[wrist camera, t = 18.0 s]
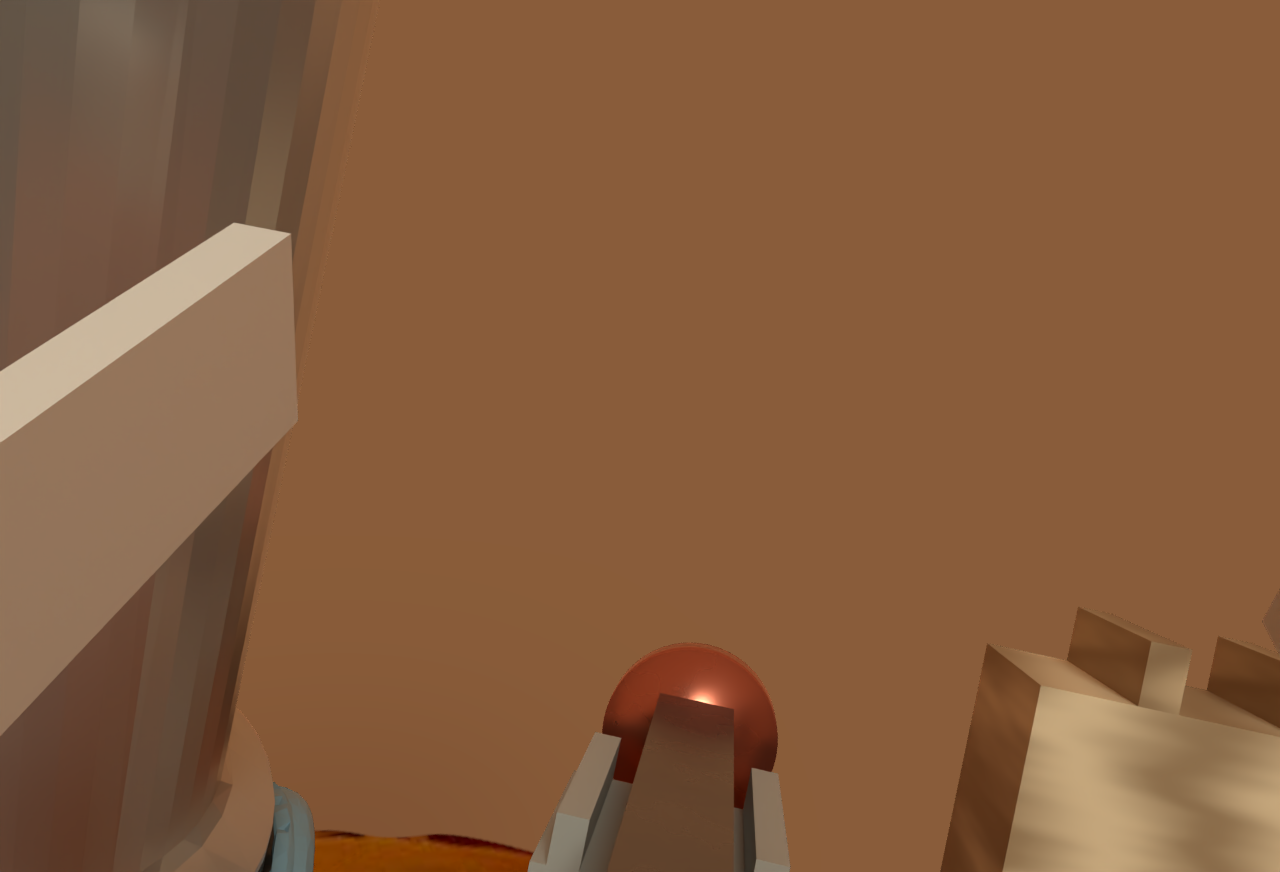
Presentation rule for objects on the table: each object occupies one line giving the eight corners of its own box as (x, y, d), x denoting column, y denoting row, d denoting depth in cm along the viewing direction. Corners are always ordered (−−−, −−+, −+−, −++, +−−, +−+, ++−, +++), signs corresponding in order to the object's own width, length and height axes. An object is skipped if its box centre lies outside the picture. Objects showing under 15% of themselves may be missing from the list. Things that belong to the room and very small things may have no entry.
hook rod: (462, 1104, 24) (526, 791, 24) (592, 790, 45) (625, 626, 45) (779, 1187, 23) (844, 866, 23) (757, 829, 45) (791, 662, 45)
